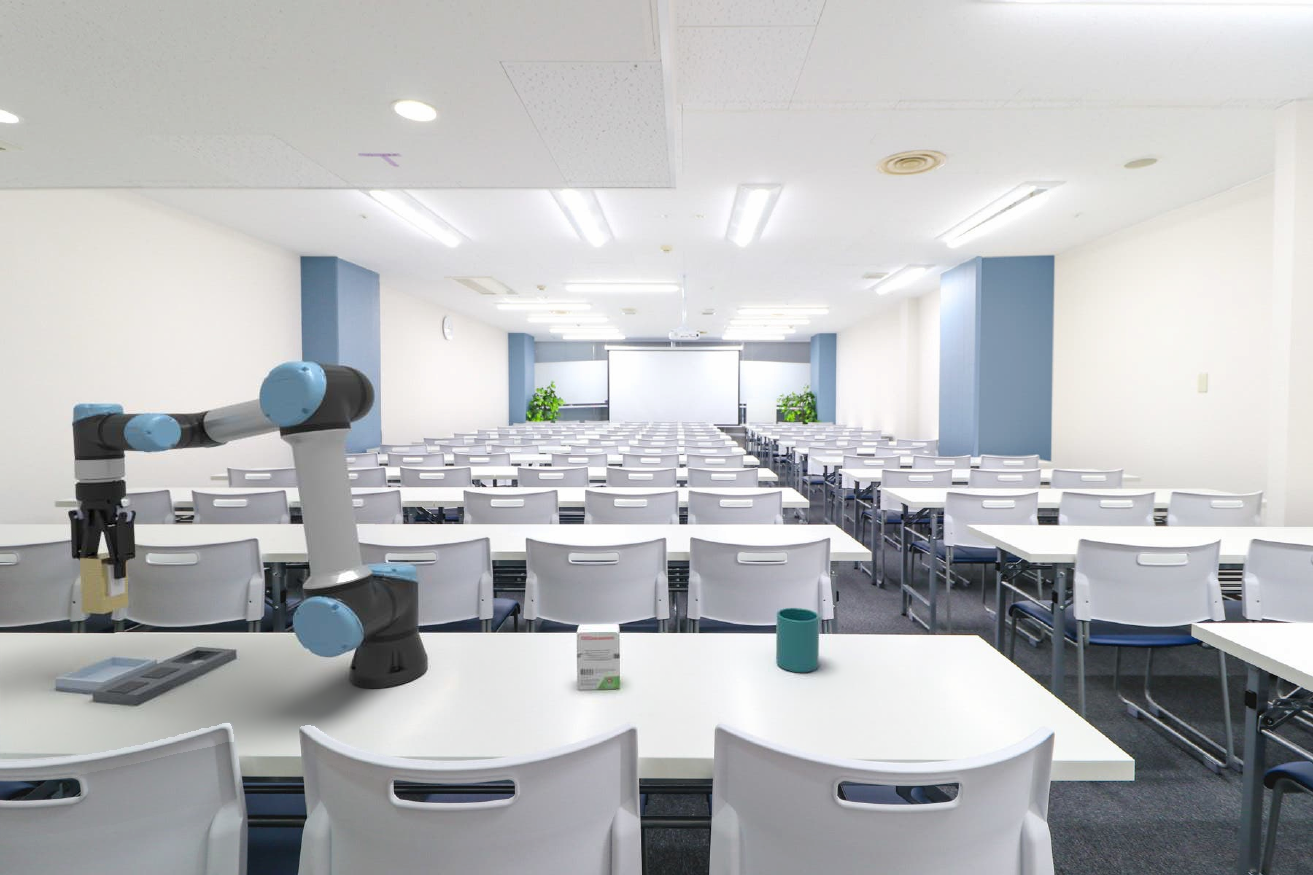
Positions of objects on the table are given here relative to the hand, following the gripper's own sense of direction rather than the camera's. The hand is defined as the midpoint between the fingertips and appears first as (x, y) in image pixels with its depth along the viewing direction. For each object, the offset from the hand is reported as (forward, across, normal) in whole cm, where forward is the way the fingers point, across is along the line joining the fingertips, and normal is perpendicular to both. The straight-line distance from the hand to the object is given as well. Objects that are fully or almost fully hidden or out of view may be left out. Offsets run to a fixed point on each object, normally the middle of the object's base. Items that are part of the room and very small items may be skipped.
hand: (105, 593), depth 123 cm
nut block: (+3, 0, 0) cm, 3 cm away
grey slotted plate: (+18, -12, -3) cm, 22 cm away
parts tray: (+18, 0, 0) cm, 18 cm away
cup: (+18, -140, -33) cm, 145 cm away
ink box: (+18, -100, -15) cm, 102 cm away
